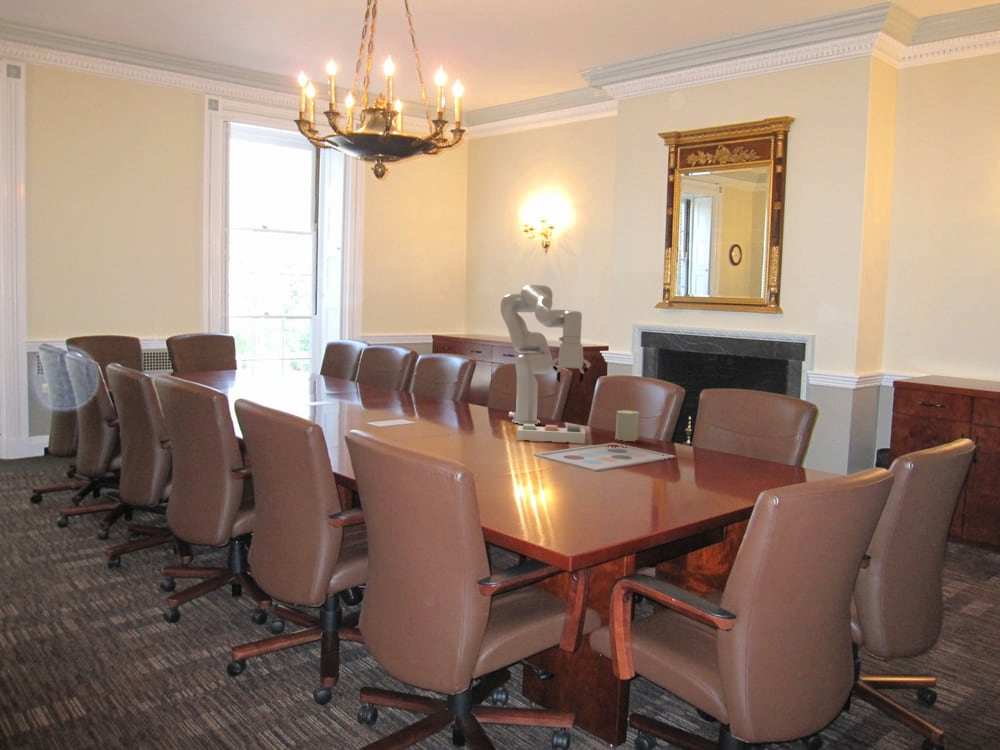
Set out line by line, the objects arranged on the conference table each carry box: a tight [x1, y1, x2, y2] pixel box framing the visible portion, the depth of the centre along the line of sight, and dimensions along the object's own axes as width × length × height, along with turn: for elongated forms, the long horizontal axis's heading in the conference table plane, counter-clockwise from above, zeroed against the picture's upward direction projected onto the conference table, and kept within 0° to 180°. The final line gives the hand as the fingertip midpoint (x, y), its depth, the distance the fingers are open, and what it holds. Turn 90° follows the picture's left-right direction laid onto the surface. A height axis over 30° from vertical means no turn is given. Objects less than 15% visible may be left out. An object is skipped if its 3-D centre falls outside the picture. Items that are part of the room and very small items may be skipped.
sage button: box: [522, 424, 536, 430], centre depth 339 cm, size 5×5×4 cm
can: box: [614, 409, 640, 442], centre depth 344 cm, size 9×9×12 cm
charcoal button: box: [567, 425, 581, 432], centre depth 338 cm, size 5×5×4 cm
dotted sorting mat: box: [533, 442, 676, 472], centre depth 307 cm, size 30×1×43 cm
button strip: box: [516, 425, 586, 444], centre depth 339 cm, size 27×11×4 cm, turn 86°
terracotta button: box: [544, 424, 558, 431], centre depth 339 cm, size 5×5×4 cm
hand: (569, 382), depth 349 cm, fingers open, 8 cm apart
